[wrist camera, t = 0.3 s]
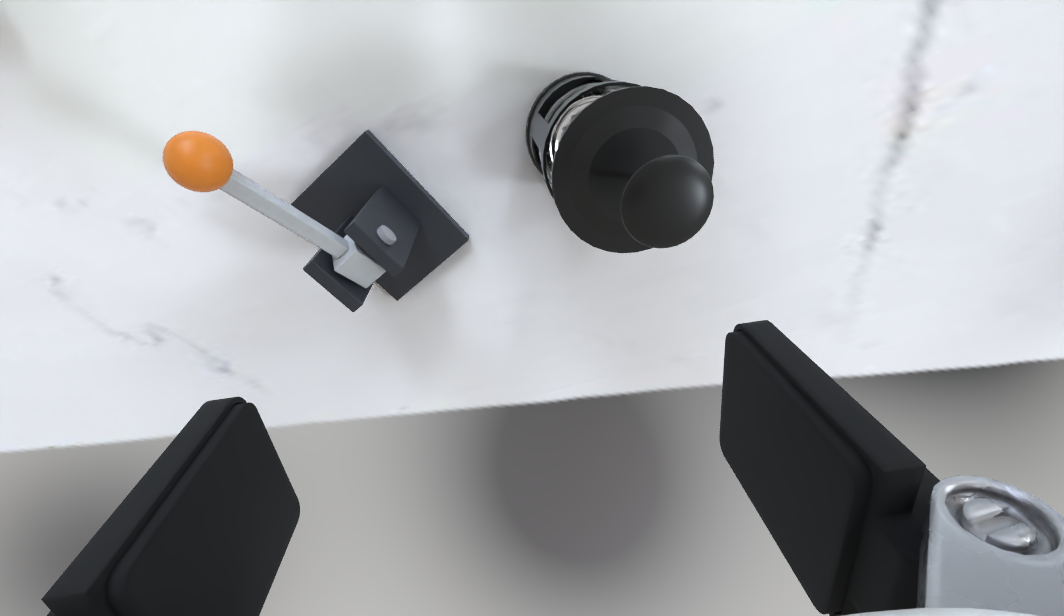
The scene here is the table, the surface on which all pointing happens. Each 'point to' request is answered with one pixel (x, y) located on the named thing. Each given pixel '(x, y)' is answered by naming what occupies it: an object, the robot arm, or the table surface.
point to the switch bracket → (378, 221)
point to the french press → (622, 161)
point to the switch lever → (260, 200)
